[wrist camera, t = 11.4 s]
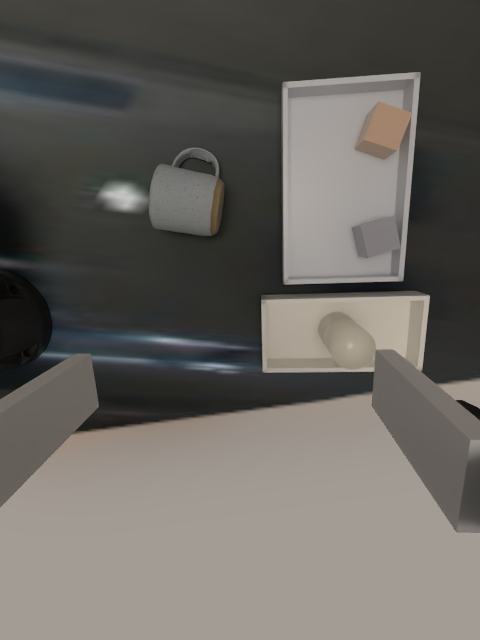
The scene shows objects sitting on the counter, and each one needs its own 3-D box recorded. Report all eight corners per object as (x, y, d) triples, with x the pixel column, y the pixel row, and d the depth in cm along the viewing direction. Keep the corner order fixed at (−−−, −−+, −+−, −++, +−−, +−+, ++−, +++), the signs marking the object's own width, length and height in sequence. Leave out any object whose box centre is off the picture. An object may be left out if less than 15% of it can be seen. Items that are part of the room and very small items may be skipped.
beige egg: (318, 312, 45) (332, 328, 37) (354, 311, 45) (377, 328, 36) (317, 345, 46) (331, 369, 38) (352, 345, 46) (374, 369, 37)
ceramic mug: (221, 239, 44) (213, 237, 37) (162, 230, 44) (143, 226, 37) (232, 156, 42) (226, 136, 34) (170, 147, 42) (151, 125, 34)
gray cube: (358, 256, 43) (367, 258, 39) (351, 226, 42) (360, 225, 39) (388, 247, 43) (400, 248, 39) (382, 217, 42) (394, 215, 38)
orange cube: (354, 149, 40) (363, 139, 36) (366, 114, 39) (378, 101, 35) (384, 159, 40) (397, 150, 36) (397, 125, 39) (412, 112, 35)
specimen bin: (262, 361, 48) (262, 372, 44) (261, 294, 46) (261, 299, 42) (408, 360, 47) (421, 371, 43) (415, 290, 44) (429, 295, 40)
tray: (282, 281, 45) (283, 284, 42) (281, 93, 39) (282, 82, 37) (393, 278, 44) (403, 281, 41) (408, 84, 38) (420, 72, 35)
